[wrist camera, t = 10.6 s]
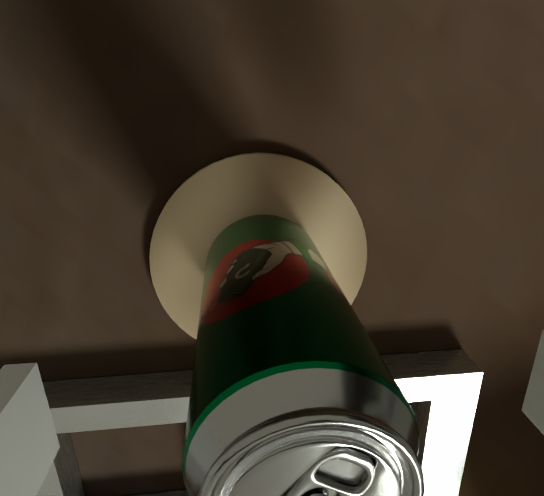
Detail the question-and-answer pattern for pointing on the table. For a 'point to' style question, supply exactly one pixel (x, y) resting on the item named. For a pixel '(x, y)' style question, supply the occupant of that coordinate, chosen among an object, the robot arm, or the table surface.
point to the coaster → (242, 203)
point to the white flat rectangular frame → (175, 401)
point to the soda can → (290, 379)
